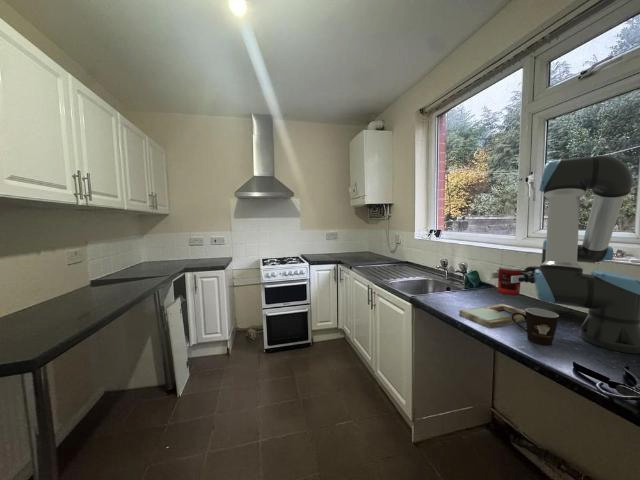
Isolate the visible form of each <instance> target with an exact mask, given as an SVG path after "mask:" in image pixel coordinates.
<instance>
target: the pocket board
mask: <svg viewBox="0 0 640 480" xmlns="http://www.w3.org/2000/svg"><path fill="white" fill-rule="evenodd" d="M501 311H505V312H508V313H511V314H513V313H517V312H519V313H522V314H524V315H526V310H524V309H521V308H517V307H514V306H511V305H508V304H505V303H498V304H492V305H486V306H479V307H472V308H471V307H470V308H466V309H465V308H464V309H459V313H458V314H459V316H461V317H464V318H466V319H469V320H470V321H474V322H476V323H478V324H480V325H483V326H485V327H488V328H490V329H491V328H496V327H501V326H505V325H506V326H507V325H511V324H512V325H513V324H516V323H515V322H514V321H513V320H512V315H509V314H506V313H503V312H501ZM513 319H514V320H515V321H516V322H517V323H521V322H526V320H525V318H524V317H523V316H522V315H520V314H516V315H514V317H513Z"/></svg>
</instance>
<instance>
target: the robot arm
mask: <svg viewBox="0 0 640 480" xmlns="http://www.w3.org/2000/svg"><path fill="white" fill-rule="evenodd" d="M542 173H543V174H542V176H541V182H540V185H539V192H542V193H543V197H545V198H546V200H548V203H547V204H548V205H547V222H546V223H547V224H546V239H544V240H543V243H542V248H541V249H542V251H541V264H539V265H534V266H532V265H531V266H527V267H526V268H524V269H521V275H518V276H511V283H519V282H520V283H530V284H534V286H535V292H536V297H537V299H538V300H539V301H541V302H544V303H545V302H546V303H550V304H553V305H562V306H570V307H575V308H583V309H588V310H587V311H588V312H587V316H586V318H585V319H584V321H583V323H582V324H581V326H580V327H579V331H578V336H579V338H581V339H582V340H583V341H586V342H588V343H589V344H592V345H595V346H597V347H599V348H600V347H601V348H603V349H607V350H611V351H615V352H622V353H627V354H635V355H637V354H640V279H638V278H636V277H633V276H630V275H625V274H621V273H617V272H612V271H611V272H610V271H606V270H605V271H604V270H592V272H591V273H590V274H589V273H588V274H587V273H584V268H583V267H582V266H581V265H580V264H579V263H590V264H596V263H595V262H599V261H604V260H612V259H614V253H615V252H614V248H613V247H612V246H609V244H610V241H611V238H612V234H613V232H614V229H615V226H616V223H617V221H618V217H619V214H620V211H621V208H622V206H623V202H624V199H625V197H626V196H628V195H630V193H631V191H632V188H633V185H634V179H633V174H632V172H631V170H630V168H629V167H628V166H627V165H626V164H625V163H624V162H623V161H622V160H620V159H618V158H617V157H614V156H610V155H595V156H584V157H573V158H560V159H555V160H553V159H552V160H549V161H547V162H546V163H545V165H544V168H543V172H542ZM587 190H591V193H592V194H593V195H594V197H593V200H592V205H591V208H590V211H589V216H588V220H587V225H586V229H585V232H584V236H583V239H582V244H579V229H580V228H579V226H580V225H579V222H580V203H581V200H580V199H581V198H582V197H583V196H586V194H587ZM612 261H613V260H612ZM498 277H499V269H496V271H491V272H490V279H498Z"/></svg>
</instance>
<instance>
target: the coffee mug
mask: <svg viewBox="0 0 640 480" xmlns="http://www.w3.org/2000/svg"><path fill="white" fill-rule="evenodd" d="M524 311H526V315H524V314H522V313H519V312H517V313H511V314H512V315H511V316H512V320H513V321H514V322H515V323H514V324H515V325H517V326H518V327H519V328H521V330H524V331H525V333H526V334H527V335H526V337H527V340H528V341H529V342H531V343H533V344H535V345H540V346H544V347H550V346H552V345H553V343H554V339H555V338H554V337H555V334H556V330H557V326H558V321H559V319H560V315H559V314H558V313H557V312H554V311H551V310H548V309H543V308H537V307H528V308H525V310H524ZM517 314H520V315H522V316H523V317H524V318H525V320H526V321H525V322H526V328H525V327H524V326H523V325H520V324H519V322H516V321H515V320H514V319H513V317H514V315H517Z"/></svg>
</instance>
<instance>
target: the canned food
mask: <svg viewBox="0 0 640 480" xmlns="http://www.w3.org/2000/svg"><path fill="white" fill-rule="evenodd" d="M498 270H499V277H498V278H497V279H498V280H497V281H498V282H497V291H498V293H500V294H503V295H506V296H519V295H520V291H521V282H519V283H511V276H518V275H521V270H522V268H521V267H516V266H512V265H511V266H510V265H500V266H499V267H498Z"/></svg>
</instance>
